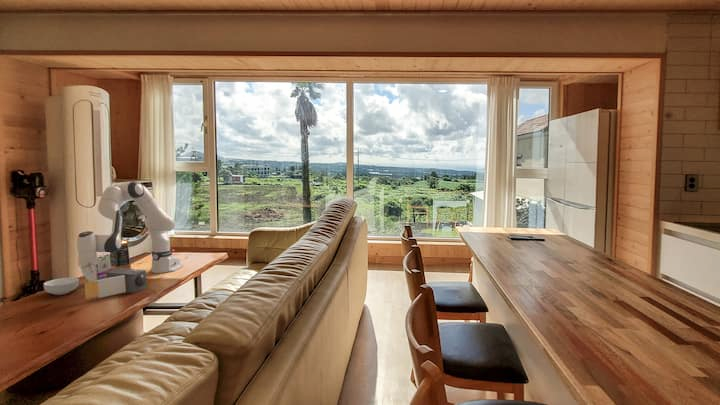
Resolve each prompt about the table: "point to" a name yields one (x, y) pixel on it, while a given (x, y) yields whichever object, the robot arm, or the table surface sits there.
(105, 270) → the candy bar box
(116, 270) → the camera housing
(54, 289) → the cereal bowl
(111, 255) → the whiskey bottle
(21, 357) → the table surface
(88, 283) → the side door
